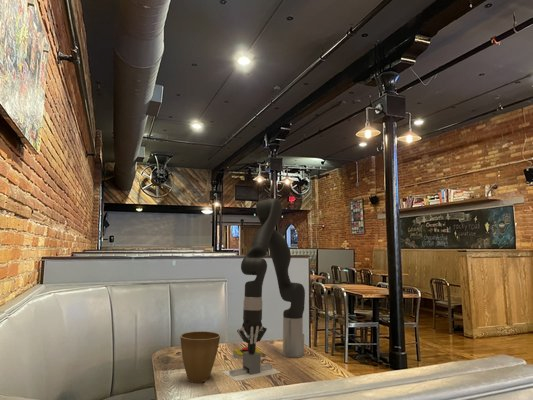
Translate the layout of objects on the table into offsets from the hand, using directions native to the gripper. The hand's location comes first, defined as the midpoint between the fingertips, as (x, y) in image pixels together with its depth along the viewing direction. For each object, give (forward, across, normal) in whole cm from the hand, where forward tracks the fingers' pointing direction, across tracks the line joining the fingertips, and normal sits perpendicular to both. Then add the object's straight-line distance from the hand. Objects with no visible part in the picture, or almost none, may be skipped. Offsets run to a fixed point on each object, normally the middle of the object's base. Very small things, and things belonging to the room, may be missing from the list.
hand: (251, 353), depth 146 cm
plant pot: (+8, +20, -5) cm, 22 cm away
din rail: (+8, 0, 0) cm, 8 cm away
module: (+7, 0, 0) cm, 7 cm away
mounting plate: (+8, 0, 0) cm, 8 cm away
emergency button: (+9, -12, -22) cm, 26 cm away
